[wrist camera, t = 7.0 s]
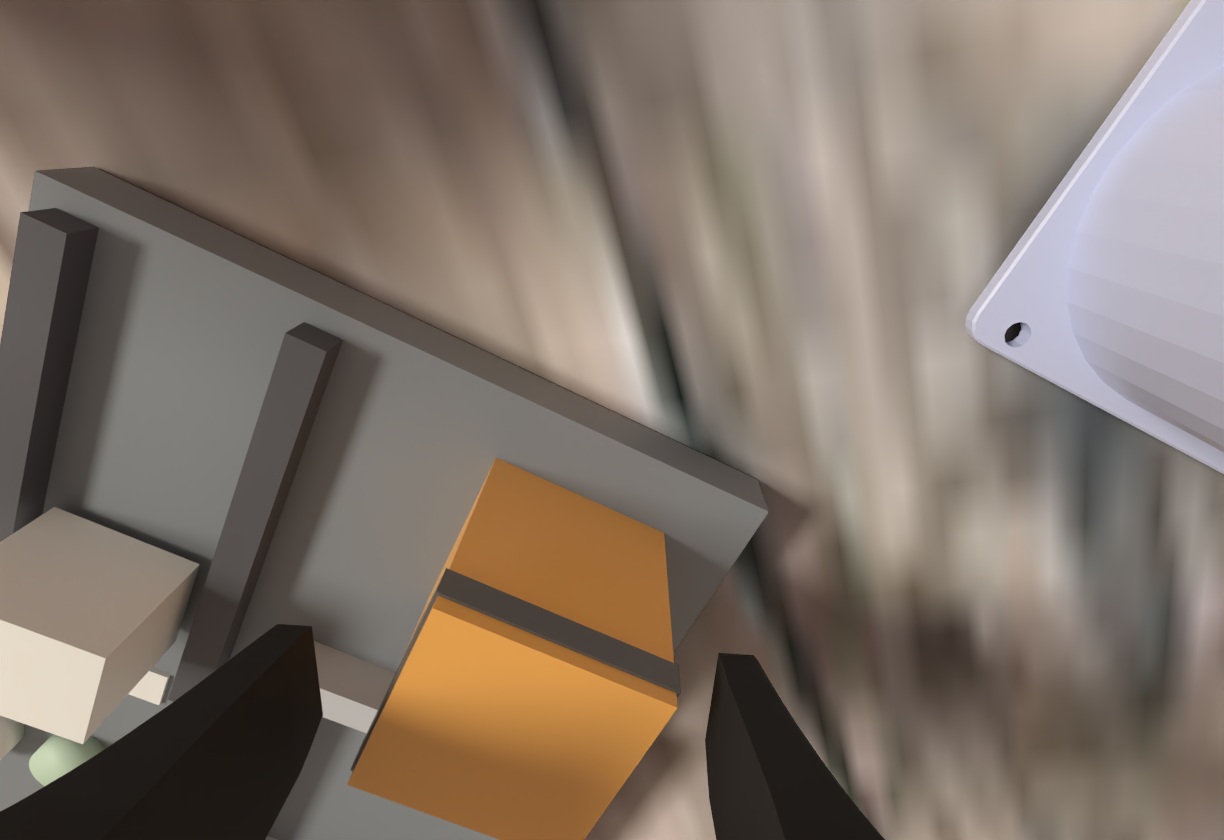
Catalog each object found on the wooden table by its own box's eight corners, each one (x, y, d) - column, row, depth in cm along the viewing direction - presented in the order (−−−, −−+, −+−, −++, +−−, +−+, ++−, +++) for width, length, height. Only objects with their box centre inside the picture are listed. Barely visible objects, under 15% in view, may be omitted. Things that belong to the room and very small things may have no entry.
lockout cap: (667, 532, 15) (682, 706, 11) (586, 662, 17) (568, 866, 12) (494, 454, 15) (430, 604, 10) (426, 597, 16) (342, 785, 11)
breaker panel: (757, 479, 16) (779, 542, 14) (471, 915, 23) (451, 1011, 20) (94, 167, 14) (-23, 174, 12) (-16, 749, 20) (-107, 835, 18)
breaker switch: (200, 564, 16) (105, 658, 13) (175, 640, 16) (83, 744, 14) (54, 506, 15) (-77, 591, 12) (37, 588, 16) (-88, 684, 13)
